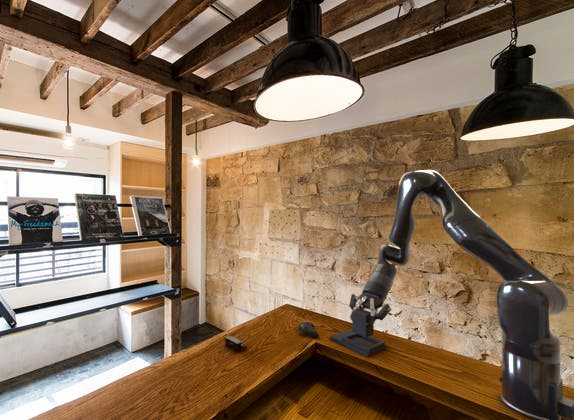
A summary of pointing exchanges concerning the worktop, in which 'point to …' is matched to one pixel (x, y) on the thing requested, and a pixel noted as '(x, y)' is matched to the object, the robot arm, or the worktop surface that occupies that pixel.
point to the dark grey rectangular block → (361, 323)
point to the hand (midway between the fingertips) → (359, 323)
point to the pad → (359, 342)
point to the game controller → (308, 329)
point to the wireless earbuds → (234, 343)
